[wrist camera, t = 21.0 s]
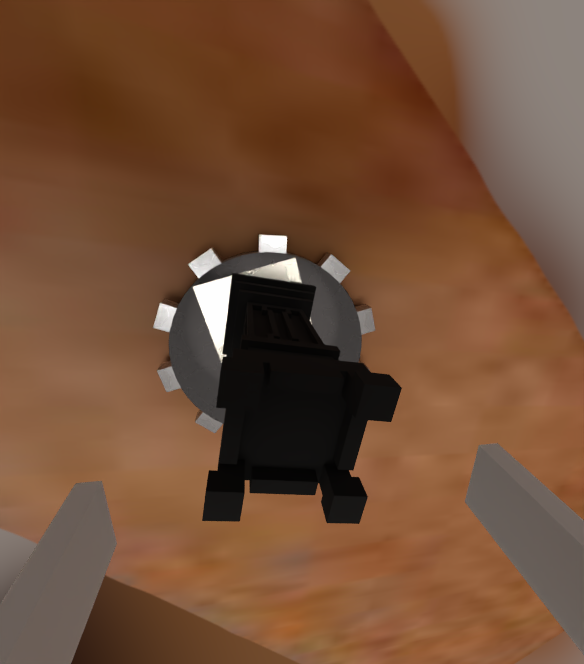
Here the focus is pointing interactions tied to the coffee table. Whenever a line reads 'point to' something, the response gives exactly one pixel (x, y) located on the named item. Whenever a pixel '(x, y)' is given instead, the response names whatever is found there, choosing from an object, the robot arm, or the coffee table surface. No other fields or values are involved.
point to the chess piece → (290, 405)
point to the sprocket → (212, 306)
